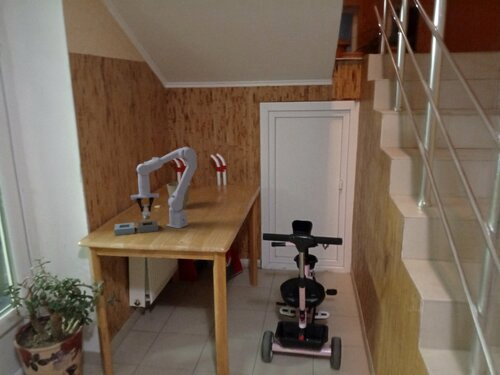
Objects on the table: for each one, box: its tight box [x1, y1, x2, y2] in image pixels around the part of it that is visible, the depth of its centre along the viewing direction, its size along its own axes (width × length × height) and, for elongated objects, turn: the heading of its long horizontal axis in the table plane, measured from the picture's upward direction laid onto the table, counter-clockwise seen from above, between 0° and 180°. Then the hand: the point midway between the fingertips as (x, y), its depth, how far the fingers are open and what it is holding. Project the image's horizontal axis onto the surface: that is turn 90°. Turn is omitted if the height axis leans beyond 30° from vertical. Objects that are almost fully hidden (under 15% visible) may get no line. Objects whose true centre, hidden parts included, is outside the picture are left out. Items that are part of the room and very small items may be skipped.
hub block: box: [113, 222, 136, 236], centre depth 209 cm, size 10×10×3 cm
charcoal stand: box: [137, 220, 159, 234], centre depth 213 cm, size 10×10×3 cm
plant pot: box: [166, 181, 191, 210], centre depth 253 cm, size 15×15×16 cm
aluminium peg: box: [142, 204, 151, 220], centre depth 211 cm, size 4×4×7 cm
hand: (145, 211), depth 211 cm, fingers closed on aluminium peg, 4 cm apart
